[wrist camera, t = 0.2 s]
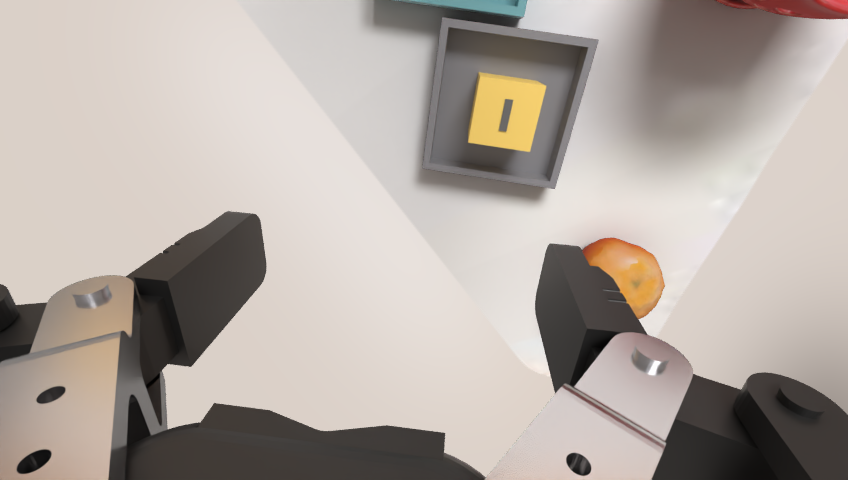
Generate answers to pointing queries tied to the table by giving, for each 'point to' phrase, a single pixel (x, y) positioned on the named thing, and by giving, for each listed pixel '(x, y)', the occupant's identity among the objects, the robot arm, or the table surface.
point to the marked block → (505, 111)
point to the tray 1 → (479, 6)
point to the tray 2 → (515, 57)
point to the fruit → (629, 272)
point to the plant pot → (796, 7)
